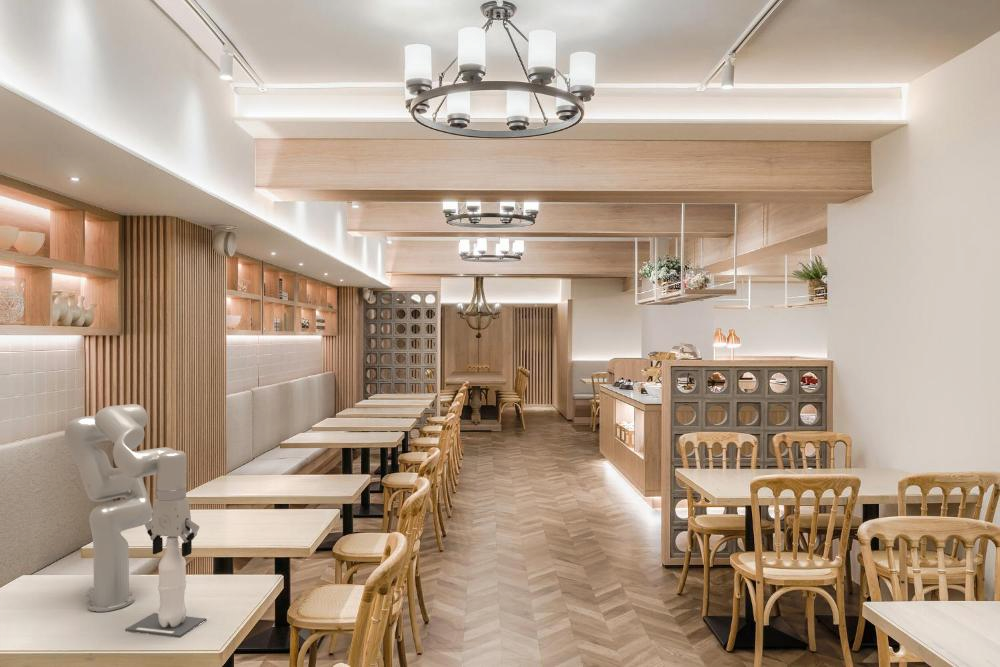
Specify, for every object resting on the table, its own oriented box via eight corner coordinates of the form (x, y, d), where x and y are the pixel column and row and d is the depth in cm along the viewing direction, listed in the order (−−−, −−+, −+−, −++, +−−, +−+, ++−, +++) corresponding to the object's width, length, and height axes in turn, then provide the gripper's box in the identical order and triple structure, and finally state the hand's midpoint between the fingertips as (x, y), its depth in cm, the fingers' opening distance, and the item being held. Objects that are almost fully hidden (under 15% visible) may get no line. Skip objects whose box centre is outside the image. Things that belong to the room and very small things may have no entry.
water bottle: (174, 630, 185) (174, 541, 185) (152, 628, 186) (152, 539, 186) (191, 619, 192) (191, 534, 192) (170, 617, 193) (170, 532, 193)
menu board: (125, 631, 186) (125, 628, 186) (154, 614, 197) (154, 612, 197) (180, 637, 182) (180, 635, 182) (206, 620, 193) (206, 618, 193)
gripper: (136, 496, 187) (136, 556, 187) (188, 499, 183) (189, 560, 183) (155, 490, 195) (156, 547, 195) (206, 492, 191) (206, 551, 191)
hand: (172, 554), depth 189 cm, fingers open, 9 cm apart
